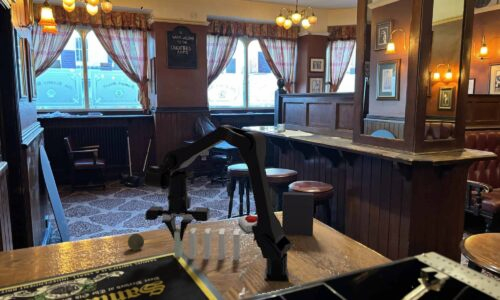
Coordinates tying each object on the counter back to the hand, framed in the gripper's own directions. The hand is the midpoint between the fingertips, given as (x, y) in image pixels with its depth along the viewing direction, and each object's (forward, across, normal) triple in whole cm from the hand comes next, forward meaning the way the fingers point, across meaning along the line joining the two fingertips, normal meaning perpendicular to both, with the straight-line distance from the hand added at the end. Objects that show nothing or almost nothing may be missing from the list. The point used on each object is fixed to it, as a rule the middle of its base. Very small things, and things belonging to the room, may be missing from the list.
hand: (178, 240), depth 117 cm
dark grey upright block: (+5, -38, -22) cm, 44 cm away
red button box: (+5, -22, -29) cm, 37 cm away
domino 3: (+5, -9, 0) cm, 10 cm away
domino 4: (+5, -14, 0) cm, 14 cm away
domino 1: (+5, 0, -1) cm, 5 cm away
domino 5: (+5, -18, 0) cm, 19 cm away
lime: (+5, +15, -4) cm, 16 cm away
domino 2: (+5, -4, 0) cm, 7 cm away
